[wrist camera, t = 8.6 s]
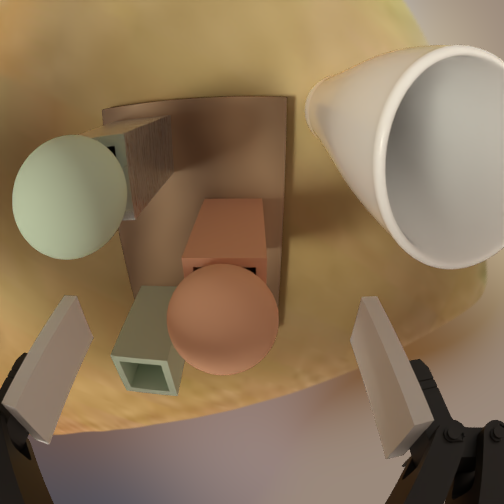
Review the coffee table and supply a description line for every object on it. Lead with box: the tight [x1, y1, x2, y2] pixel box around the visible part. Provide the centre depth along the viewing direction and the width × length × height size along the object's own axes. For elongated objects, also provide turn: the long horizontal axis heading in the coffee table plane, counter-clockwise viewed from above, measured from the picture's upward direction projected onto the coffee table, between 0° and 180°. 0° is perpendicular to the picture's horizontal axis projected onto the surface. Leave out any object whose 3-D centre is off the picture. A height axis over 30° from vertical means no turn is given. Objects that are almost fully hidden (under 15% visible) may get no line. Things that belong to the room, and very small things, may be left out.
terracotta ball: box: [167, 264, 279, 375], centre depth 14 cm, size 5×5×5 cm
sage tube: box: [110, 286, 185, 396], centre depth 23 cm, size 4×4×8 cm
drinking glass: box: [305, 45, 504, 269], centre depth 13 cm, size 7×7×15 cm
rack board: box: [102, 96, 287, 308], centre depth 23 cm, size 12×20×1 cm, turn 0°
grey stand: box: [78, 115, 174, 220], centre depth 16 cm, size 4×4×8 cm
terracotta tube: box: [182, 198, 267, 284], centre depth 19 cm, size 4×4×8 cm
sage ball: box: [12, 135, 127, 260], centre depth 11 cm, size 5×5×5 cm
